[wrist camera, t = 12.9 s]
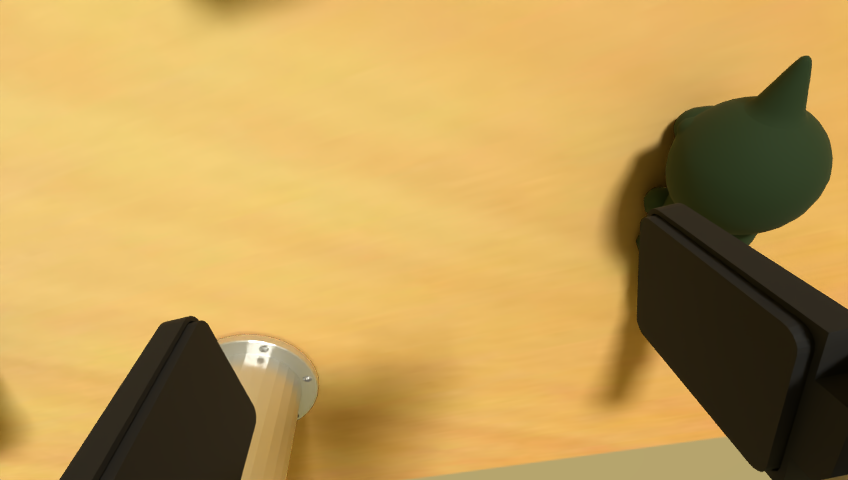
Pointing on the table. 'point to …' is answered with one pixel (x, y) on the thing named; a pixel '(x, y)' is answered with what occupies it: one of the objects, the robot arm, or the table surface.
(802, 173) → the toy figurine
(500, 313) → the table surface
